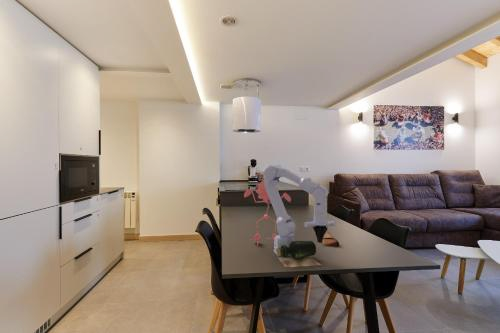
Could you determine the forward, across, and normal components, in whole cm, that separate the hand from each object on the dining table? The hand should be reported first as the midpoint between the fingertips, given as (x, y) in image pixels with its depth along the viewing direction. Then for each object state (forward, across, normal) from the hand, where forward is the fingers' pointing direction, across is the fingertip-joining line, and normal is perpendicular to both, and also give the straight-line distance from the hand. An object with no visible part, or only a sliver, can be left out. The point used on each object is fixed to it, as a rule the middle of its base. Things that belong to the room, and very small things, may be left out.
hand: (319, 242), depth 120 cm
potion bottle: (+4, -1, +4) cm, 6 cm away
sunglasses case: (+9, +17, +26) cm, 32 cm away
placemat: (+8, -10, 0) cm, 13 cm away
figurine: (+9, -17, +30) cm, 36 cm away
